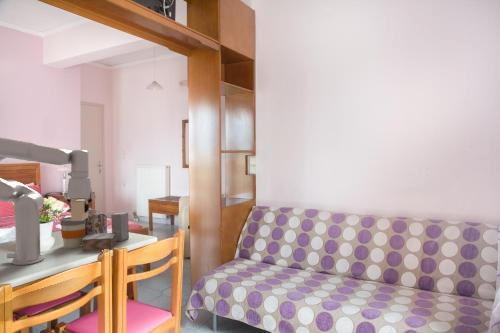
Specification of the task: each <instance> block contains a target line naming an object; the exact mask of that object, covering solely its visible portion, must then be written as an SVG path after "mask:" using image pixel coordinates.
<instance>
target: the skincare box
mask: <svg viewBox="0 0 500 333" xmlns="http://www.w3.org/2000/svg"><path fill="white" fill-rule="evenodd" d="M129 226H130V225H129V212H117V213H116V212H115V213H112V214H111V233H117V234H116V242H123V241H125V240H127V239H129V238H130V236H129V235H130V231H129V230H130V229H129Z"/></svg>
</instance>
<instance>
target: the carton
mask: <svg viewBox="0 0 500 333" xmlns="http://www.w3.org/2000/svg"><path fill="white" fill-rule="evenodd" d="M70 217H71V221H83V220H85V219H86V218H88V212H86V213H85V200H84V199H75V201H73V202H71V204H70Z"/></svg>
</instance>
